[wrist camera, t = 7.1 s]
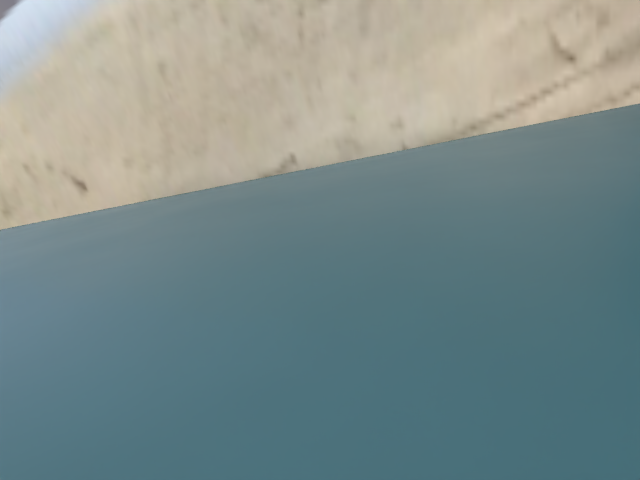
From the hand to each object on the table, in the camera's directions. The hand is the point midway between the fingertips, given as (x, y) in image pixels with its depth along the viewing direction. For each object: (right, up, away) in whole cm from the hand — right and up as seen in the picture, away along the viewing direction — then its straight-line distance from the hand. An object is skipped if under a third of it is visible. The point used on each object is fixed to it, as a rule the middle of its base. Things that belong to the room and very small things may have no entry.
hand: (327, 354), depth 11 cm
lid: (-2, +2, -9) cm, 9 cm away
